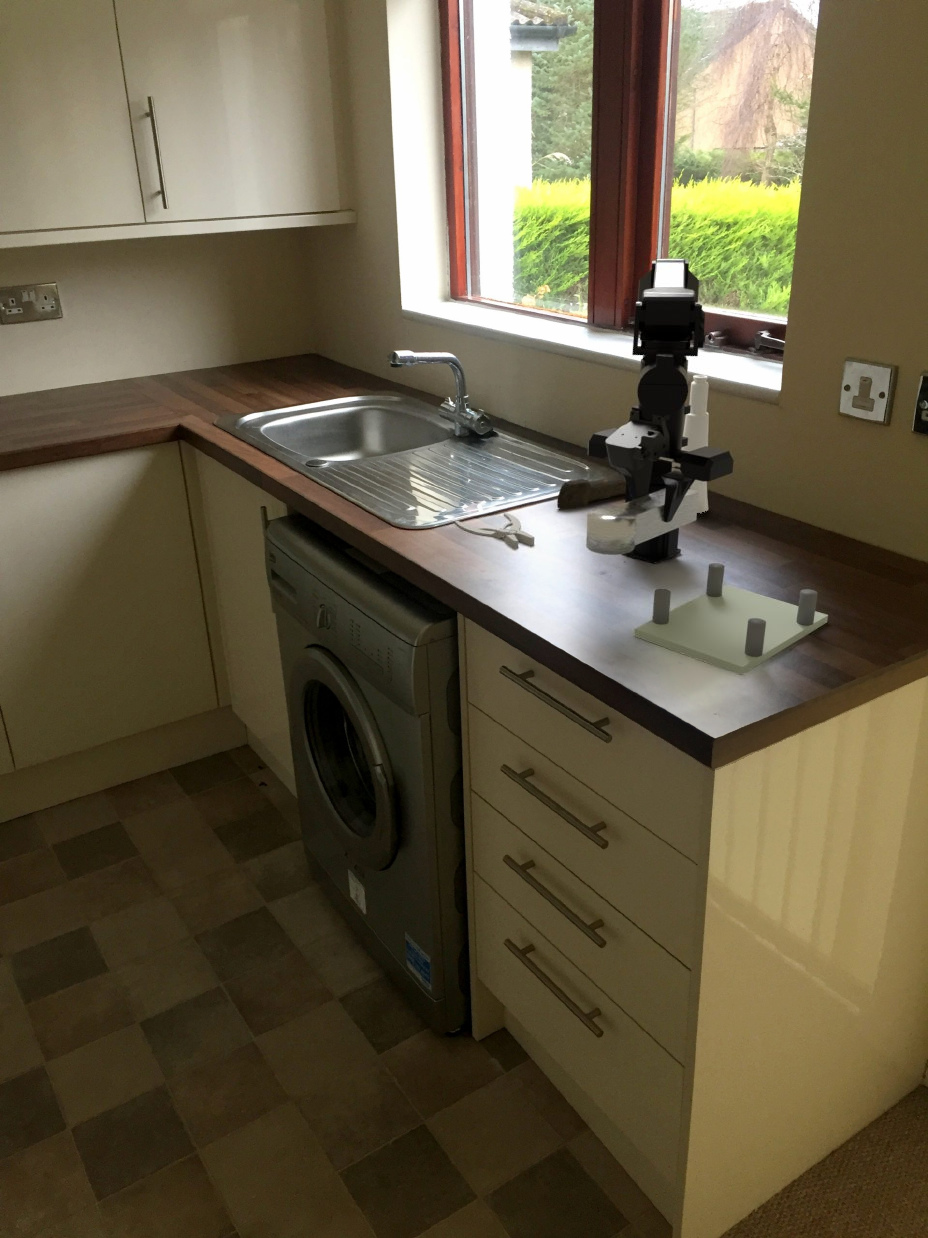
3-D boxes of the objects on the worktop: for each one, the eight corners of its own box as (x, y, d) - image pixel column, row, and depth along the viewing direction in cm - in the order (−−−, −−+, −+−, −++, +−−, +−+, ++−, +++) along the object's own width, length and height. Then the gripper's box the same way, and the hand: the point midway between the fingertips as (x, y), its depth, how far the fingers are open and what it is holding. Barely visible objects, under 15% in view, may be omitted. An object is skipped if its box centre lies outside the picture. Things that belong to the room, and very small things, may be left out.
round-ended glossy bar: (576, 546, 127) (577, 516, 125) (665, 512, 139) (667, 483, 137) (614, 558, 123) (616, 527, 121) (702, 521, 135) (705, 492, 134)
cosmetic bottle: (675, 514, 167) (685, 379, 158) (668, 503, 173) (677, 372, 164) (711, 514, 167) (724, 379, 158) (703, 502, 173) (715, 372, 164)
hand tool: (633, 488, 182) (635, 463, 180) (648, 493, 179) (650, 468, 177) (548, 507, 173) (548, 480, 171) (562, 513, 170) (562, 486, 168)
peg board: (634, 636, 125) (636, 598, 123) (723, 590, 137) (726, 556, 135) (741, 675, 115) (746, 635, 113) (827, 622, 128) (832, 585, 126)
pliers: (507, 507, 168) (553, 533, 156) (507, 516, 169) (553, 543, 156) (453, 516, 164) (495, 544, 152) (453, 525, 165) (495, 554, 152)
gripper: (561, 397, 127) (558, 516, 133) (688, 420, 114) (678, 550, 121) (616, 384, 134) (611, 498, 140) (741, 404, 122) (729, 528, 128)
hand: (653, 518), depth 132 cm, fingers closed on round-ended glossy bar, 4 cm apart
